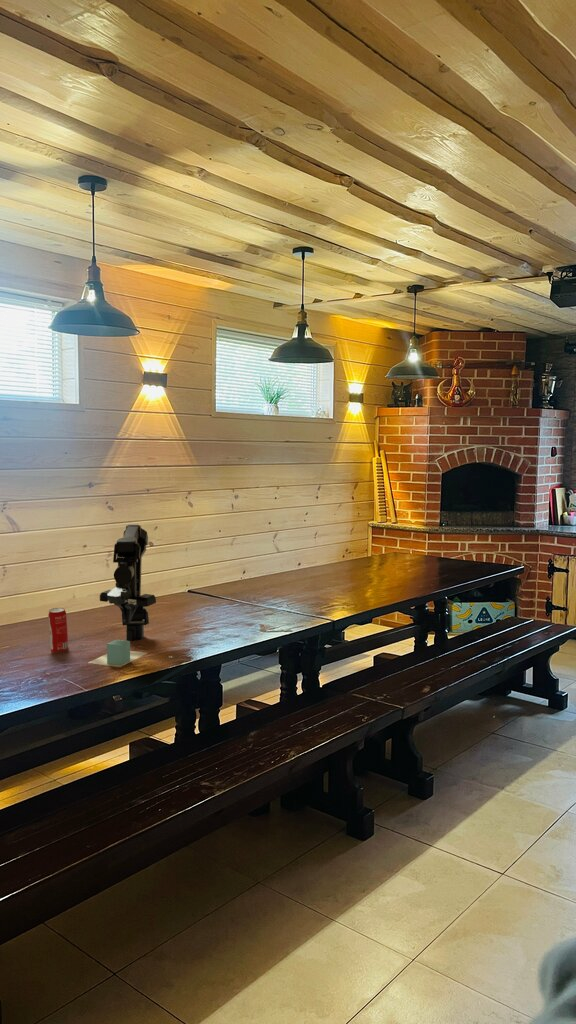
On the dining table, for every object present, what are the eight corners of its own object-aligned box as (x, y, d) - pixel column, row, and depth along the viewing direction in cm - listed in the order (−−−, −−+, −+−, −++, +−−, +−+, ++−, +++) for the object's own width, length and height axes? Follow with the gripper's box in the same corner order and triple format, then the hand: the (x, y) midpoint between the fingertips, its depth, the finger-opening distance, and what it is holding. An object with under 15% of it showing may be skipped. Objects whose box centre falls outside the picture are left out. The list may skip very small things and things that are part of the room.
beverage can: (70, 649, 246) (69, 606, 245) (65, 655, 240) (64, 611, 238) (53, 649, 246) (51, 606, 244) (47, 655, 239) (46, 611, 238)
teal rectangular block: (116, 659, 232) (116, 639, 232) (130, 661, 231) (129, 641, 230) (107, 663, 228) (106, 643, 227) (120, 665, 226) (120, 645, 225)
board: (117, 651, 244) (117, 649, 243) (147, 656, 239) (147, 653, 239) (87, 665, 229) (87, 662, 229) (119, 670, 224) (119, 667, 224)
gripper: (88, 579, 232) (89, 626, 234) (137, 585, 225) (138, 633, 227) (109, 573, 242) (110, 617, 244) (156, 578, 235) (157, 624, 237)
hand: (128, 623), depth 238 cm, fingers closed
